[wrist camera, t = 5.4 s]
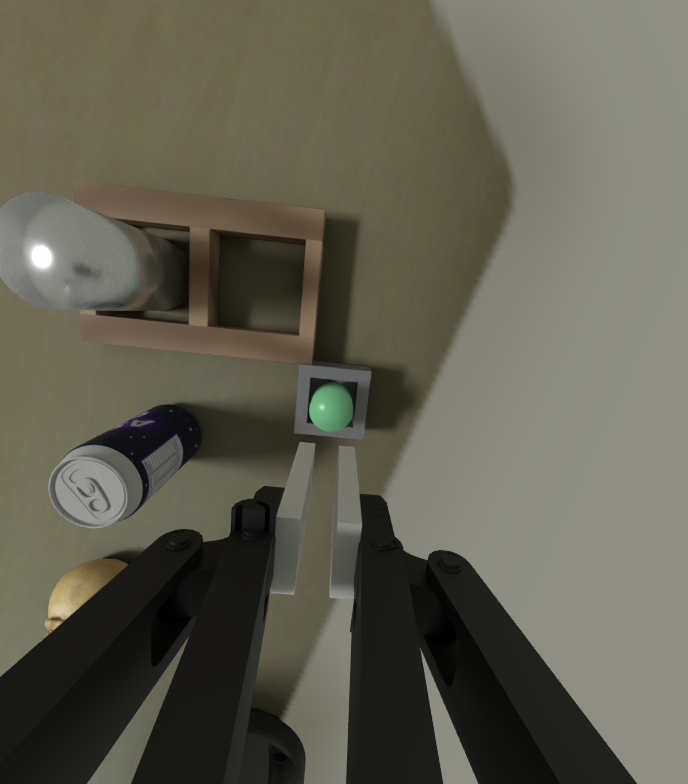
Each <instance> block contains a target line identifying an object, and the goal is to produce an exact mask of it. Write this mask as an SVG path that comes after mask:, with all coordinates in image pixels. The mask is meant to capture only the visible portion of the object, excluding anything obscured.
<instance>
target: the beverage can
mask: <svg viewBox="0 0 688 784" xmlns="http://www.w3.org/2000/svg"><path fill="white" fill-rule="evenodd" d="M200 443H201V430H200V427H199V424H198V423H197V421H196V419H195V418H194V417H193V416H192V415H191V414H190V413H189V412H188V411H186V410H185V409H183V408H181V407H178V406H175V405H167V404H166V405H159V406H156V407H154V408H152V409H150V410H148V411H146V412H144V413H142V414H140V415H138V416H136V417H134V418H132V419H130V420H128V421H126V422H124V423H122V424H121V425H119V426H117V427H115V428H113V429H111V430H109V431H107V432H105V433H103V434H101V435H99V436H97V437H95V438H93V439H91V440H89V441H88V442H86V443H84V444H82V445H80V446H78V447H76V448H74V449H72V450H71V451H70V452H69V453H68V454H67V455H66V456H65V457H64V458H63V460H62V462H61V463H60V464H59V465H58V466H57V467H56V468H55V469H54V471H53V473H52V474H51V477H50V480H49V495H50V498H51V501H52V503H53V505H54V507H55V508H56V509H57V511H58V512H59V513H60V514H61V515H62V516H63V517H64V518H66V519H67V520H69V521H70V522H72V523H74V524H76V525H79V526H82V527H86V528H102V527H106V526H109V525H111V524H113V523H115V522H117V521H121V520H124V519H126V518H128V517H130V516H131V515H133V514H134V513H135V512H136V511H137V510H138V509H139V508H140V507H141V506H142V505H143V504H144V503H145V502H146V501H147V500H148V499H149V498H150V497H151V496H152V495H153V494H154V493H155V492H156V491H158V490H159V489H160V488H161V487H162V486H163V485H164V484H165V483H166V482H167V481H168V480H169V479H170V478H171V477H172V476H173V475H174V474H175V473H176V472H177V471H178V470H179V469H180V468H181V467H182V466H183V465H184V464H185V463H186V462H187V461H188V460H189V459H190V458H191V457H192V456H193V455H194V454H195V453H196V452H197V450H198V449H199V446H200Z"/></svg>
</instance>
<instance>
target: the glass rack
mask: <svg viewBox="0 0 688 784" xmlns="http://www.w3.org/2000/svg"><path fill="white" fill-rule="evenodd" d="M73 191H74V203H77V204H79V205H82V206H84V207H87V208H89V209H91V210H94V211H96V212H99V213H101V214H104V215H106V216H109V217H111V218H113V219H116V220H118V221H121V222H123V223H126V224H128V225H132V226H141V227H150V228H159V229H168V230H177V231H186V232H190V267H189V322H179V321H170V320H160V319H150V318H141V317H131V316H121V315H115V312H114V311H107V310H80V321H81V340H82V341H83V342H93V343H103V344H113V345H123V346H133V347H143V348H153V349H163V350H172V351H182V352H192V353H202V354H212V355H222V356H232V357H242V358H252V359H261V360H271V361H281V362H291V363H301V364H311V365H312V363H313V362H314V355H315V343H316V332H317V320H318V308H319V297H320V285H321V273H322V261H323V250H324V238H325V226H326V214H325V210H320V209H311V208H302V207H294V206H285V205H276V204H267V203H258V202H250V201H241V200H232V199H223V198H214V197H206V196H197V195H188V194H179V193H170V192H161V191H153V190H144V189H135V188H126V187H117V186H109V185H100V184H91V183H82V182H73ZM220 235H222V236H231V237H240V238H249V239H258V240H268V241H277V242H286V243H295V244H304V245H306V249H305V262H304V276H303V289H302V302H301V316H300V329H299V334H295V333H286V332H276V331H266V330H257V329H247V328H237V327H228V326H218V292H219V254H220Z"/></svg>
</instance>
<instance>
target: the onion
mask: <svg viewBox="0 0 688 784" xmlns="http://www.w3.org/2000/svg"><path fill="white" fill-rule="evenodd" d="M127 565H128V564H127V563H125V562H124V561H120V560H117V559H97V560H92V561H89V562H86V563H84V564H81V565H79V566H78V567H76V568H74V569H73V570H71V571H69V572H68V573H67V574H66V575H64V576H63V577H62V578H61V580H60V581H59V582H58V584H57V585H56V587H55V589H54V591H53V593H52V595H51V598H50V602H49V609H48V618H47V619H46V621H45V627H46V629H47V630H48V634H47V636H48V635H49V633H51V632H52V631H53V630H54V629H56V628H57V627H58V626H59V625H60V624H61V623H62V622H64V621H65V620H66V619H67V618H68V617H69V616H70V615H71V614H73V613H74V612H75V611H76V610H77V609H78V608H79V607H81V606H82V605H83V604H84V603H85V602H86V601H87V600H89V599H90V598H91V597H92V596H93V595H94V594H95V593H97V592H98V591H99V590H100V589H101V588H102V587H103V586H104V585H106V584H107V583H108V582H109V581H110V580H111V579H112V578H114V577H115V576H116V575H117V574H118V573H119V572H120V571H122V570H123V569H124V568H125V567H126V566H127ZM45 637H46V636H45ZM43 639H44V638H43ZM43 639H41V641H42V640H43Z"/></svg>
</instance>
